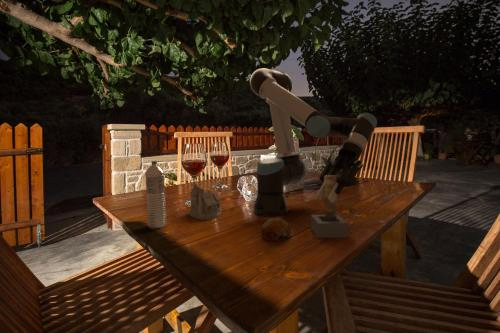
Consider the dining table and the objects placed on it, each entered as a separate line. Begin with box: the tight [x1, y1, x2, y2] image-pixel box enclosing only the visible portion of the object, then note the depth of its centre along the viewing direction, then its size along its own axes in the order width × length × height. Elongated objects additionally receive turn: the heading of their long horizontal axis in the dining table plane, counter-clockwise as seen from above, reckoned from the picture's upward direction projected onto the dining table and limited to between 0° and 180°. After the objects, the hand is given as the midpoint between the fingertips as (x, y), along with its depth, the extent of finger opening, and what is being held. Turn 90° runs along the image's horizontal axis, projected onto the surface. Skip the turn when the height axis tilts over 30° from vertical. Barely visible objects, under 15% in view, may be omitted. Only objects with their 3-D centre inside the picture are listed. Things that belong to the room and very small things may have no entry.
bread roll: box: [260, 217, 291, 242], centre depth 96 cm, size 10×10×8 cm
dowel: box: [324, 174, 338, 217], centre depth 97 cm, size 4×4×14 cm
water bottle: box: [144, 160, 167, 230], centre depth 107 cm, size 7×7×25 cm
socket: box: [310, 213, 349, 239], centre depth 99 cm, size 10×10×5 cm
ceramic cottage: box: [189, 181, 223, 221], centre depth 124 cm, size 16×16×15 cm
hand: (324, 199), depth 95 cm, fingers closed on dowel, 4 cm apart
